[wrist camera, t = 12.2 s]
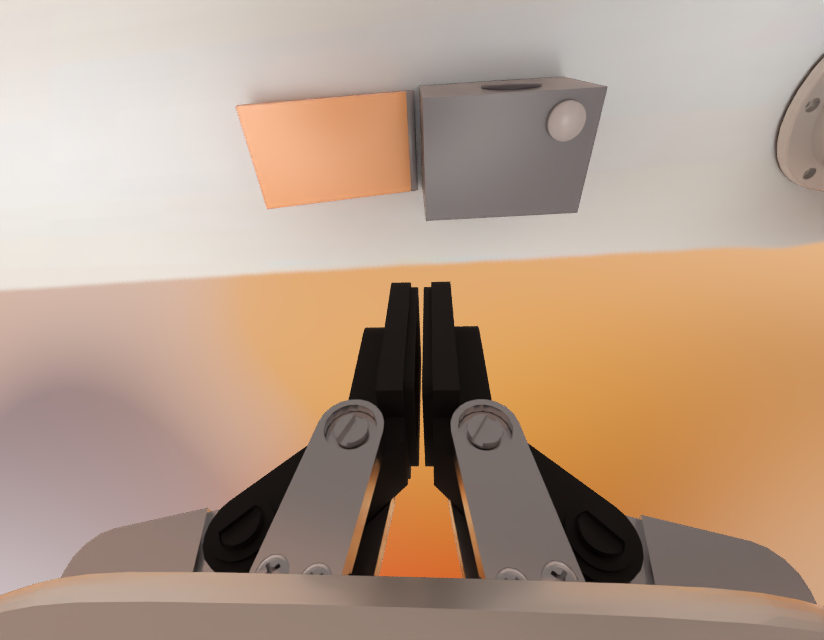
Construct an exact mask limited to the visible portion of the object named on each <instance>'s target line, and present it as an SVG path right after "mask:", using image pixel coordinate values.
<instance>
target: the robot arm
mask: <svg viewBox="0 0 824 640" xmlns="http://www.w3.org/2000/svg"><path fill="white" fill-rule="evenodd" d="M777 158H778V162H779V165H780V168H781V170H782V171H783V173H784V174H785V176H786V177H787V178H788V179H790V180H791V181H793V182H794V183H796V184H798V185H801V186H804V187H806V188H809V189H813V190H819V191H824V58H823V59H822V60H821V61H820V62H819V63H818V64H817V65H816V67H815V68H814V69H813V70H812V72H811V73H810V74H809V76H808V77H807V79H806V80H805V81H804V83H803V84H802V85H801V87H800V88H799V90H798V91H797V93H796V95H795V97H794V99H793V100H792V102H791V104H790V106H789V108H788V109H787V112H786V114H785V117H784V120H783V122H782V125H781V127H780V132H779V137H778V141H777ZM423 311H424V313H423V366H422V368H423V369H422V399H423V423H424V445H425V466H434V485H435V486H436V487H437V488H438V489H439V490H440V491H441V492H442V493H443V494H444V495H445V496H446V497H447V498H448V504H449V510H450V515H451V520H452V526H453V531H454V536H455V541H456V547H457V552H458V557H459V562H460V567H461V572H462V578H463V579H462V578H426V577H389V576H388V577H387V576H379V573H380V568H381V564H382V560H383V555H384V550H385V546H386V541H387V537H388V532H389V528H390V522H391V518H392V513H393V509H394V504H395V496H396V495H397V494H398V493H399V492H400V491H401V490H402V489H403V488H405V487H406V486H407V484H408V479H410V478H411V466H419V437H420V435H419V433H420V390H421V346H420V321H419V297H418V288H417V287H411V283H392V284H391V289H390V296H389V303H388V309H387V316H386V322H385V328H365V330H364V333H363V337H362V342H361V346H360V351H359V355H358V360H357V364H356V369H355V374H354V378H353V383H352V387H351V392H350V396H349V400H347V401H343V402H340V403H338V404H336V405H334V406H332V407H331V408H330V409H329V410H327V411H326V412H325V413H324V414H323V416H322V418H321V419H320V420H319V422H318V424H317V426H316V429H315V431H314V433H313V435H312V437H311V439H310V442H309V444H308V446H306V447H305V448H303V449H302V450H301V451H299V452H298V453H296V454H295V455H293V456H292V457H291V458H289V459H288V460H286V461H285V462H284V463H282V464H281V465H279V466H278V467H277V468H275V469H274V470H272V471H271V472H270V473H268V474H267V475H266V476H264V477H263V478H261V479H260V480H259V481H257V482H256V483H254V484H253V485H251V486H250V487H249V488H247V489H246V490H244V491H243V492H242V493H240V494H239V495H237V496H236V497H235V498H233V499H232V500H230V501H229V502H228V503H227V504H226V505H225V506H223V507H222V508H221V509H220V510H216V511H210V510H209V508H205V509H200V510H196V511H191V512H187V513H182V514H178V515H173V516H169V517H164V518H160V519H155V520H151V521H146V522H142V523H137V524H132V525H128V526H123V527H119V528H114V529H112V530H109V531H107V532H104V533H101V534H100V535H98V536H97V537H95V538H94V539H92V540H91V541H89V542H88V543H87V544H86V545H84V547H82V548H81V549H80V550H79V552H77V553H76V555H75V556H74V557H73V558H72V560H71V561H70V563H69V564H68V566H67V568H66V569H65V571H64V572H63V575H62V577H61V578H58V579H54V580H49V581H45V582H41V583H36V584H33V585H30V586H27V587H23V588H20V589H17V590H14V591H11V592H8V593H5V594H2V595H0V640H824V606H820V605H817V603H816V601H815V599H814V597H813V595H812V593H811V591H810V589H809V588H808V586H807V585H806V583H805V582H804V580H803V579H802V577H801V576H800V575H799V573H798V572H797V571H796V570H795V569H794V568H793V567H792V566H791V565H790V564H789V563H787V561H786V560H785V559H783V558H782V557H780V556H779V555H777V554H776V553H774V552H773V551H771V550H770V549H768V548H767V547H764V546H761V545H759V544H756V543H754V542H751V541H747V540H743V539H739V538H735V537H731V536H727V535H723V534H718V533H714V532H710V531H706V530H702V529H698V528H693V527H689V526H685V525H681V524H677V523H673V522H669V521H664V520H660V519H656V518H652V517H648V516H644V515H641V516H640V517H639V518H638V519H637V518H633V517H628V516H625V515H624V514H623V513H622V512H621V511H620V510H618V509H617V508H616V507H615V506H614V505H612V504H611V503H609V502H608V501H607V500H605V499H604V498H603V497H601V496H600V495H598V494H597V493H596V492H594V491H593V490H591V489H590V488H589V487H587V486H586V485H584V484H583V483H582V482H580V481H579V480H578V479H576V478H575V477H573V476H572V475H571V474H569V473H568V472H567V471H565V470H564V469H562V468H561V467H560V466H558V465H557V464H556V463H554V462H553V461H551V460H550V459H549V458H547V457H546V456H545V455H543V454H542V453H540V452H539V451H538V450H536V449H535V448H534V447H532V446H531V445H529V444H528V443H527V440H526V438H525V436H524V433H523V431H522V429H521V426H520V424H519V422H518V420H517V419H516V417H515V415H514V414H513V413H512V412H511V411H510V410H509V409H508V408H507V407H505V406H503V405H501V404H499V403H498V402H495V401H492V400H491V394H490V389H489V383H488V377H487V371H486V366H485V360H484V354H483V349H482V343H481V338H480V332H479V328H478V326H470V327H469V326H463V327H454V318H453V307H452V297H451V285H450V282H431V287H424V309H423Z"/></svg>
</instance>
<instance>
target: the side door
mask: <svg viewBox="0 0 824 640" xmlns="http://www.w3.org/2000/svg"><path fill="white" fill-rule="evenodd" d="M236 110H237V113H238V116H239V119H240V123H241V126H242V129H243V132H244V136H245V139H246V142H247V145H248V149H249V152H250V155H251V158H252V162H253V165H254V168H255V171H256V175H257V178H258V181H259V184H260V188H261V191H262V194H263V197H264V200H265V204H266V207H267V209H272V208H280V207H288V206H296V205H304V204H312V203H320V202H328V201H336V200H344V199H352V198H360V197H368V196H376V195H384V194H392V193H400V192H408V191H415V190H417V189H418V185H417V161H416V137H415V112H414V91H398V92H386V93H375V94H363V95H351V96H339V97H328V98H316V99H304V100H292V101H280V102H269V103H257V104H245V105H237V106H236Z"/></svg>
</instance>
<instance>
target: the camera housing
mask: <svg viewBox="0 0 824 640" xmlns="http://www.w3.org/2000/svg"><path fill="white" fill-rule="evenodd" d="M606 91H607V86H602V85H598V84H593V83H589V82H584V81H580V80H575V79H571V78H566V77H550V78H534V79H518V80H502V81H486V82H470V83H454V84H438V85H422V86H419V102H420V133H421V163H422V189H423V198H424V207H425V216H426V221H432V220H450V219H469V218H487V217H506V216H524V215H542V214H561V213H577V211H578V207H579V203H580V199H581V195H582V190H583V186H584V182H585V178H586V174H587V170H588V165H589V161H590V157H591V153H592V149H593V145H594V140H595V136H596V132H597V128H598V124H599V120H600V116H601V111H602V107H603V103H604V99H605V95H606Z"/></svg>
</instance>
